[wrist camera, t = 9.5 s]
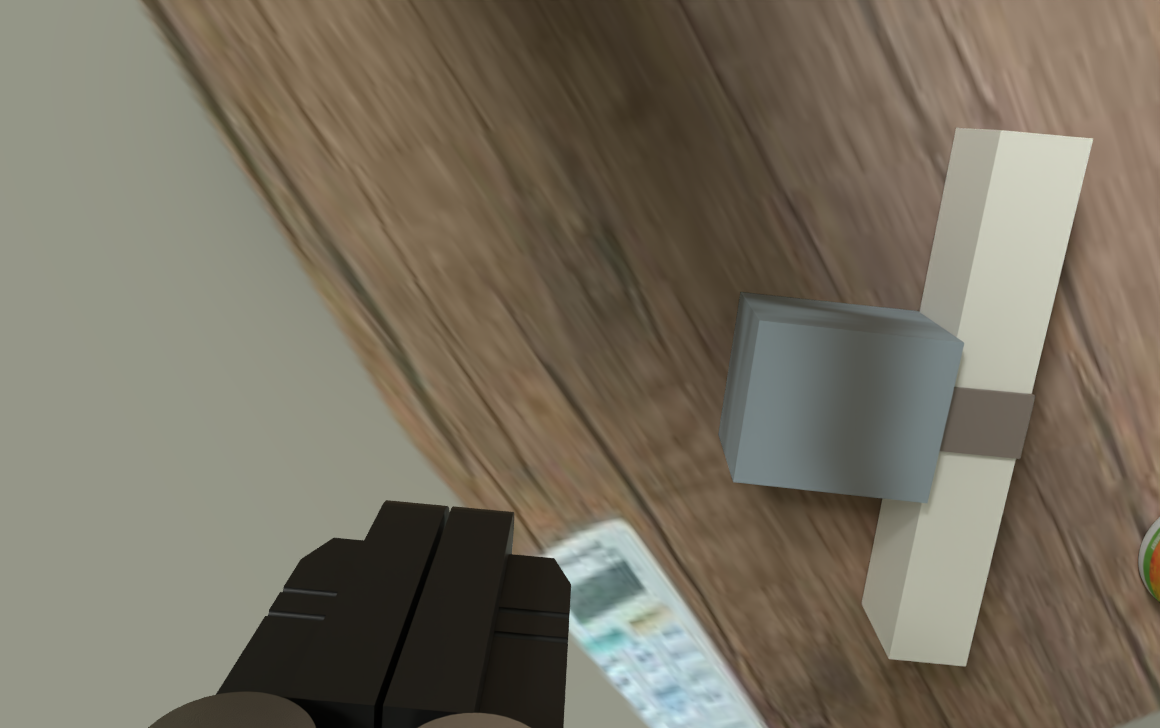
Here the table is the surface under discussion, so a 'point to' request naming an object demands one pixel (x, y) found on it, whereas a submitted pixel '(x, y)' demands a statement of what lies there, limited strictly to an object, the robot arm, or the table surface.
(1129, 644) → the table surface
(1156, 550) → the supplement bottle
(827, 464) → the block
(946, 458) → the cream rectangular bar
